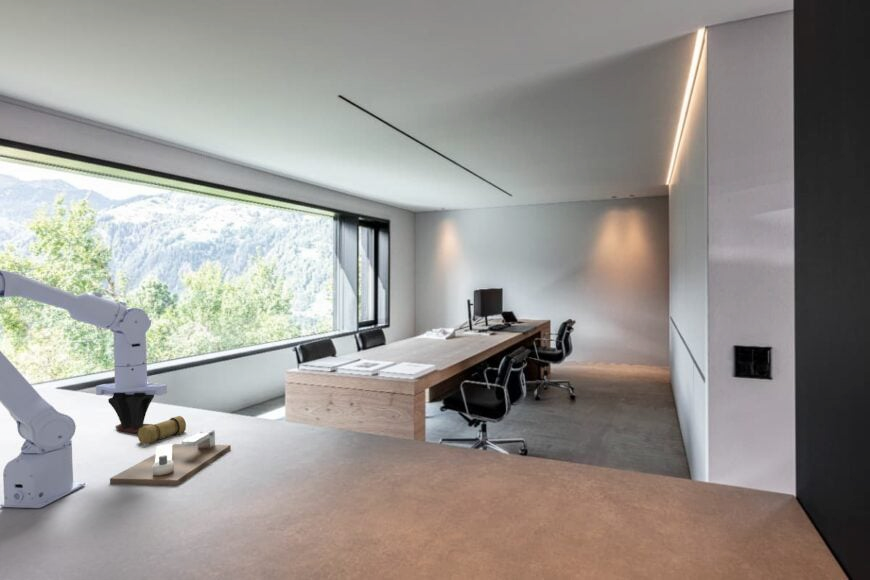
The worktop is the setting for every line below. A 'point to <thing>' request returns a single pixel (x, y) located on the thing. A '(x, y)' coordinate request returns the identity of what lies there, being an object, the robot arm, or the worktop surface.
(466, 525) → the worktop surface
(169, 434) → the gavel
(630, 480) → the worktop surface
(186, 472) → the pivot board
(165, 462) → the swing link
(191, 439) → the keeper
